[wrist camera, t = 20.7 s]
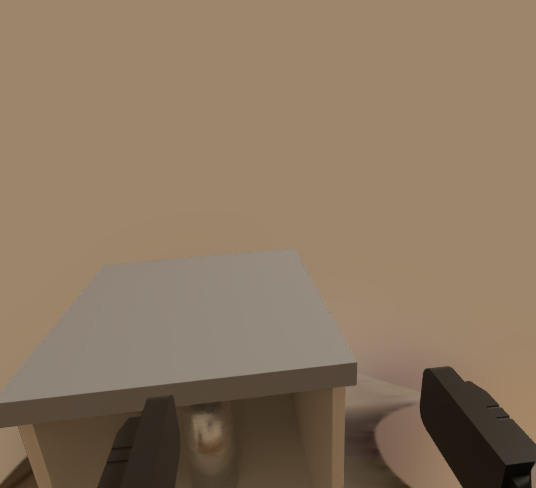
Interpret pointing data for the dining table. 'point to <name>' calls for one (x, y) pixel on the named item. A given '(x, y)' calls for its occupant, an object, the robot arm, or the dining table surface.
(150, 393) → the under-counter cabinet
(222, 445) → the chrome cylinder
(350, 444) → the dining table surface
